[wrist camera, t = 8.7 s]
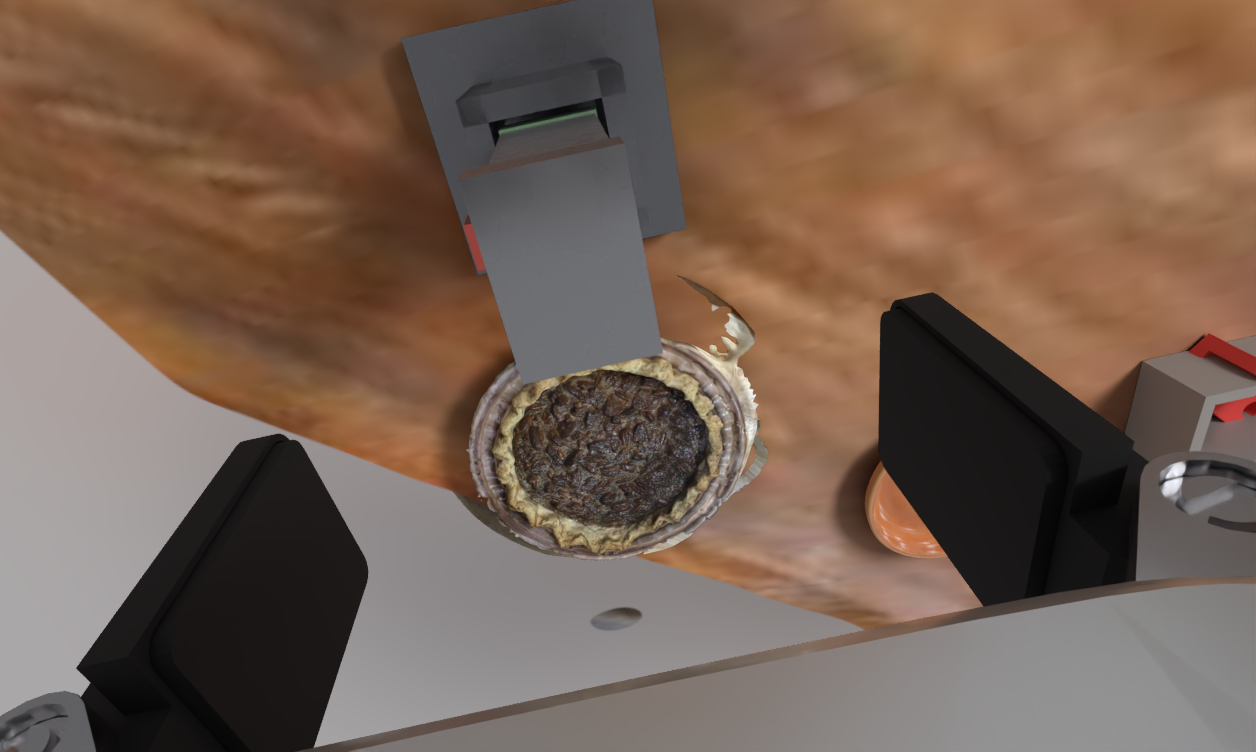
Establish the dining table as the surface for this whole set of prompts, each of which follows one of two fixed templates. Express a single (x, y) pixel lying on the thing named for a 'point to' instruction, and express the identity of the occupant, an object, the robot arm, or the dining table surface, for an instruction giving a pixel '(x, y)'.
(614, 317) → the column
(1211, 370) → the bracket rest
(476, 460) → the pie
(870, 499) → the saucer
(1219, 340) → the bracket
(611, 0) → the stand
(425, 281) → the dining table surface
